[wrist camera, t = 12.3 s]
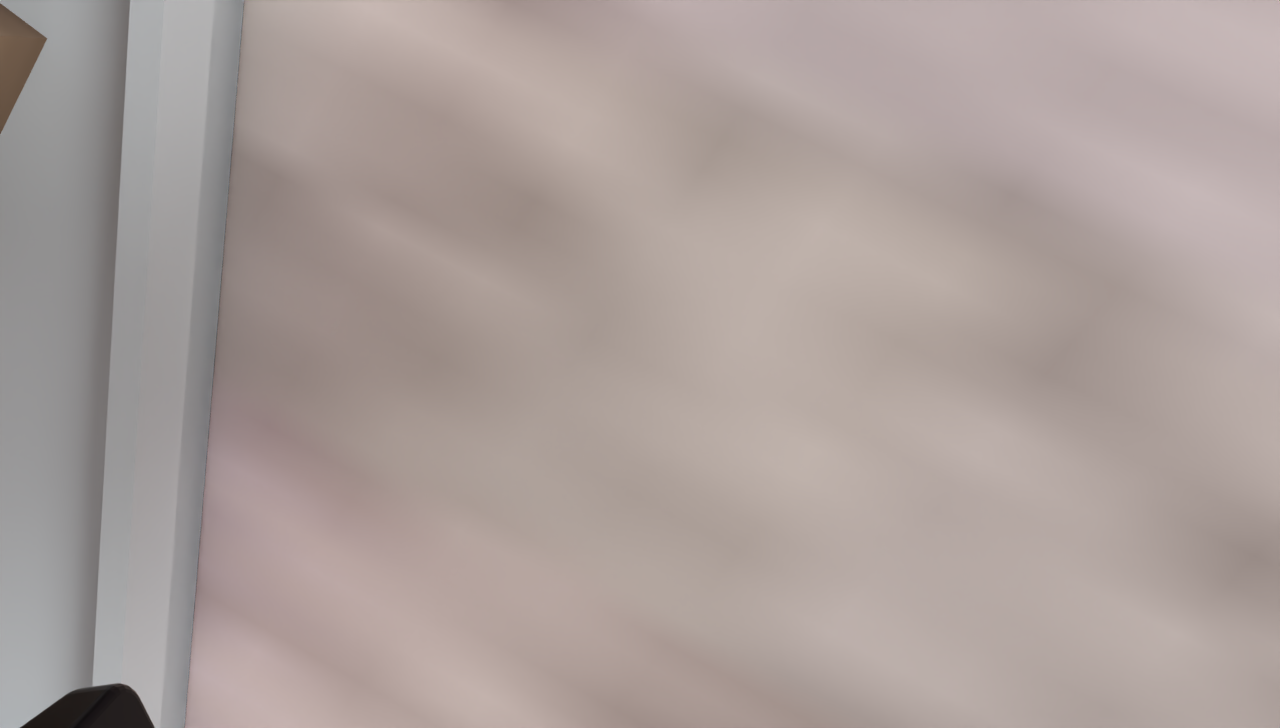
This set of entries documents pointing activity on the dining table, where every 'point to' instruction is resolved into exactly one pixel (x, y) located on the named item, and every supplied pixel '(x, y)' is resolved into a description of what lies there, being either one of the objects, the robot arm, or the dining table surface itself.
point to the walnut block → (15, 58)
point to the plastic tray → (110, 343)
